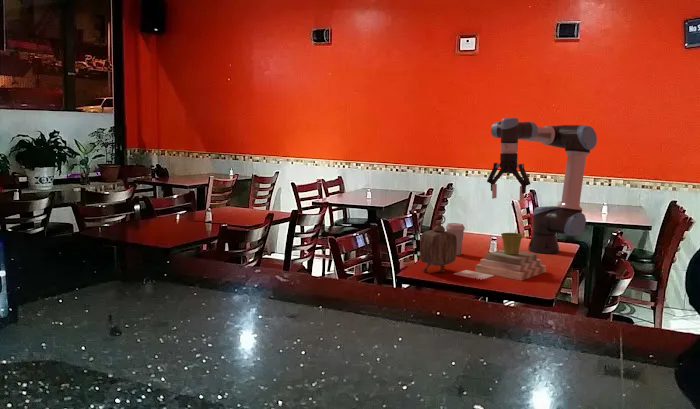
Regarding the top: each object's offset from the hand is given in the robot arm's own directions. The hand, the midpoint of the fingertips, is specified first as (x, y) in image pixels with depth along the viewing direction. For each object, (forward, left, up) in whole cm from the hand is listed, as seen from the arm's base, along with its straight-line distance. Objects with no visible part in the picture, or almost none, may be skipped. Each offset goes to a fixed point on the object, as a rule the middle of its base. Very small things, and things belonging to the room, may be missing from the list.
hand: (507, 199), depth 283 cm
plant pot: (+10, +8, -23) cm, 26 cm away
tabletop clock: (+33, -14, -31) cm, 47 cm away
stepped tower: (+10, +8, -30) cm, 33 cm away
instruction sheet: (+27, 0, -30) cm, 41 cm away
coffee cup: (-4, -31, -31) cm, 43 cm away
